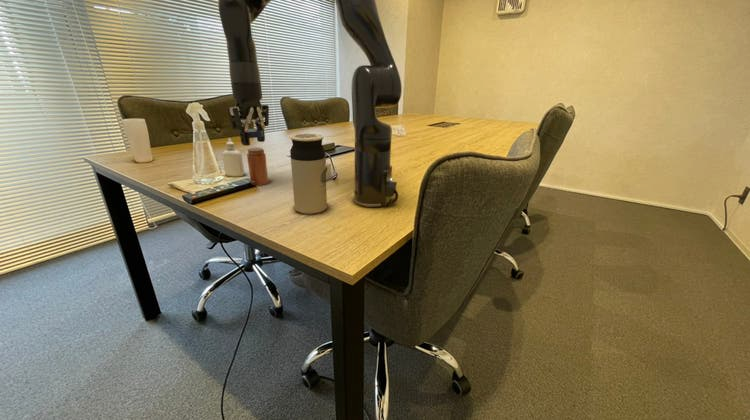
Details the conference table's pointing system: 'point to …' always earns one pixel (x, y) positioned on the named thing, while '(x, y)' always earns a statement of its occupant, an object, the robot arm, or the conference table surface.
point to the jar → (257, 166)
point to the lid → (255, 133)
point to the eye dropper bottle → (232, 160)
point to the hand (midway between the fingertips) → (253, 143)
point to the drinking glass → (138, 139)
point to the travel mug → (308, 173)
